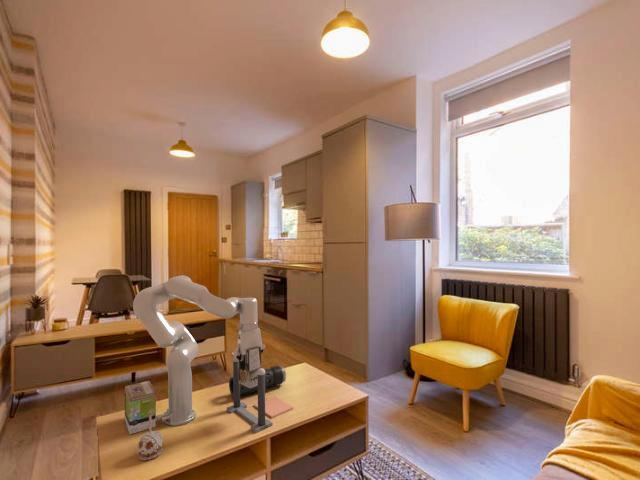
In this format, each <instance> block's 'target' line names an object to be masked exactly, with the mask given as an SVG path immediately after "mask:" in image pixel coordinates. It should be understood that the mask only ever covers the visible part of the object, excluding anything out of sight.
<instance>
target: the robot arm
mask: <svg viewBox="0 0 640 480" xmlns="http://www.w3.org/2000/svg"><path fill="white" fill-rule="evenodd" d="M176 298H177V299H179V300H182V301H185V302H188V303H191V304H193V305H196V306H197V307H198V308H200V309H202V310H203V311H205V312H206V313H209V314H211V315H214V316H216V317H219V318H223V319H231V318H233V317H234V316H235V315H237V314H239V325H237V330H238V334H237V343H236V344H237V345H236V346H237V347H235V349H234V350H233V351H232V353H231V354H232V355H233V357H236V358H237V359H238V360H239V368H240V369H241V370H245V361H243V360H244V357H245V355H246V354H247V350H248V349H251V348H255V347H261V355H262V353H263V352H264V350H265V349H266V346H267V345H266V344H265V343H264V342H263V340H262V334H261V328H260V327H259V325H258V324H259V322H258V321H259V318H258V314H259V313H258V300H257V298H255V297H236V296H233V297H231V296H230V297H229V298H227V299H224V298H222V297H218V296H216V295H214V294H212V293H211V292H209V289H208V288H207V287H206V286H205V285H202V284H199V283H197V282H193V281H192V279H191V278H190V277H189V276H187V275H184V274H183V275H181V274H180V275H178V276H177V275H176V276H173V277H170V278H169V279H168V280H167V281H165V282H163V283H160V284H157V285H154V286H150V287H146V288H144V289H142V290H140V291H139V292H138V293H137V294H136V296H135V298H134V299H133V304H132V308H133V313H134V314H135V316H136V318H137V319H138V320H139V321H140V322H141V324H142V325H143V326H144V328H145V330H146V331H147V332H148V334H149V336H151V338H152V339H153V340H154V342H155V344H156V345H157V346H158V347H159V348H163V349H166V348H170V347H171V346H172V348H171V349H170V351H168V354H167V356H166V358H165V359H166V360H165V361H166V369H167V376H168V377H167V378H168V379H167V383H168V387H167V389H168V390H167V391H168V393H167V394H168V395H167V397H168V408H167V409H166V410H165V411H164V412H163V413H161V414H156V422H157V421H160V420H161V422H164V423H165V424H166V425H168V426H181V425H182V426H183V425H185V424H188V423H190V422H192V421H193V420H194V419H195V418H196V416H197V413H196V410H194V409H193V374H192V368H191V362H192V361H193V360H194V359H195V358H196V357H197V356H198V354H199V345H198V343H197V341H196V340H195V338H194V337H193V336H192V333H190V332H189V330H188V329H187V327H186V326H185V325H184V324H183V323H181V322H180V321H176V320H173V321H169V320H167V318H166V317H165V315H164V314H163V313H162V312H161V311H160V310H159V309H158V308H156V306H158V305H162V304H163V303H166V302H168V301H171V300H173V299H176ZM238 353H240V354H239V355H238Z"/></svg>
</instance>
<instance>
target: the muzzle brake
mask: <svg viewBox="0 0 640 480" xmlns="http://www.w3.org/2000/svg"><path fill="white" fill-rule="evenodd" d="M263 369H264V370H265V390H269V389H271V388H273V387H276V386H280V385H282V384H283V383H285V382H286V379H287V375H286V374H287V373H286V370H285V368H284V366H281V365H275V366H272V367H269V368H263ZM228 387H229V392H230V395H231V397H233V376H231V377H230V378H229V381H228ZM256 392H258V386H255V387H252V388H248V387H246V386H244V385H242V384H240V397H242V396H246V395H249V394H252V393H256Z"/></svg>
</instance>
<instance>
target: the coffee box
mask: <svg viewBox="0 0 640 480" xmlns="http://www.w3.org/2000/svg"><path fill="white" fill-rule="evenodd" d="M237 354H238V355H239V354H240V353H237ZM243 361H245V370H241V369H240V368H239V360H238V368H239V383H240V384H242V385H244V386H246V387H248V388H252V387H255V386H258V374H257V372H258V370H259V369H260V368H262V354H261V347H255V348H251V349H248V350H247V354H246V355H245V357H244V360H243Z"/></svg>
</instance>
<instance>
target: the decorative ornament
mask: <svg viewBox="0 0 640 480" xmlns="http://www.w3.org/2000/svg"><path fill="white" fill-rule="evenodd" d="M136 445H137V451H138V454H137V458H138V459H139V460H140V461H147V460H149V461H150V460H151V459H155V458H156V457H159V456H160V455H161V454H162V453H163V435H162V434H161V433H160V432H159V431H157V430H152V416H151V412H150V413H149V429H148V431H147V432H146V433H144V434H142V436H140V438H139V440H138V443H137V444H136Z"/></svg>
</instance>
